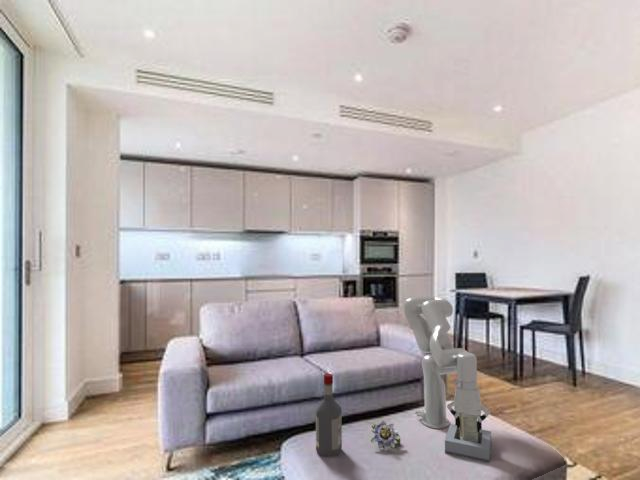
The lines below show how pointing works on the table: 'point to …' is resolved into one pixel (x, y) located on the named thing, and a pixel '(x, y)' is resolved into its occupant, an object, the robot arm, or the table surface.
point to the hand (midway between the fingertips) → (468, 428)
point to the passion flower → (385, 435)
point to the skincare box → (468, 428)
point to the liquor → (328, 422)
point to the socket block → (468, 445)
